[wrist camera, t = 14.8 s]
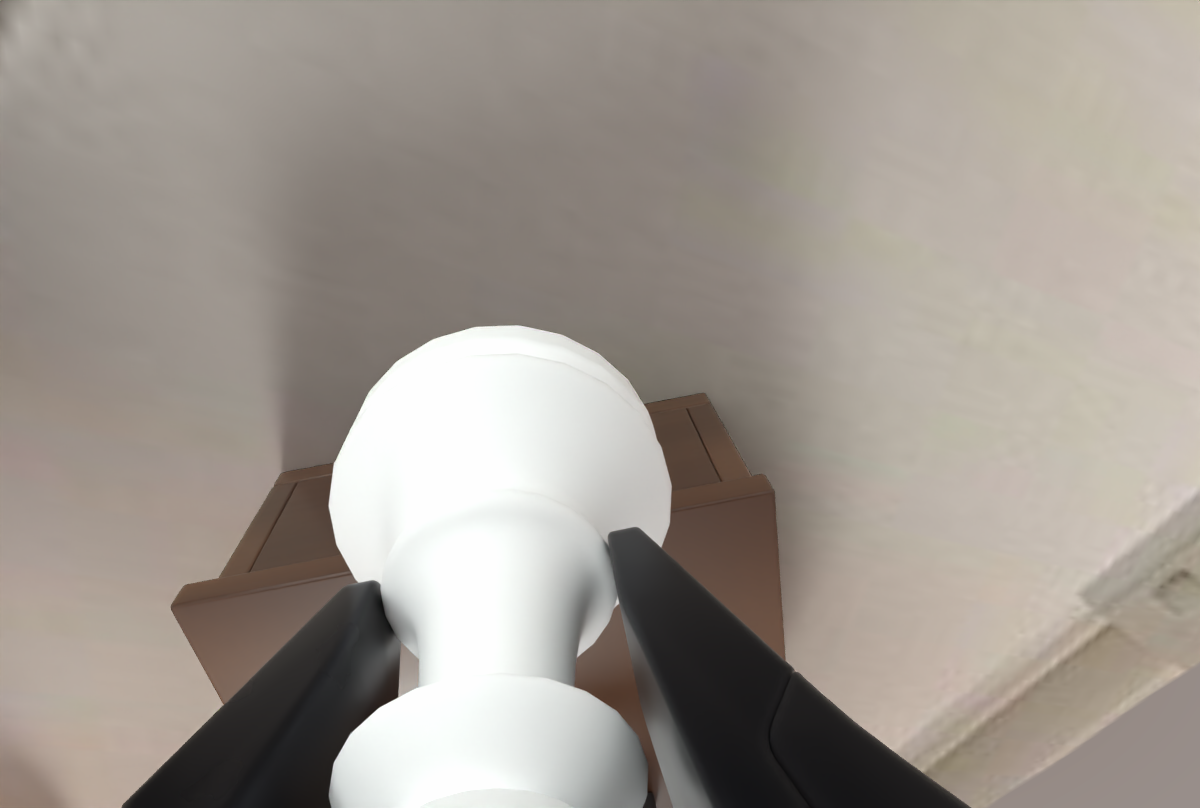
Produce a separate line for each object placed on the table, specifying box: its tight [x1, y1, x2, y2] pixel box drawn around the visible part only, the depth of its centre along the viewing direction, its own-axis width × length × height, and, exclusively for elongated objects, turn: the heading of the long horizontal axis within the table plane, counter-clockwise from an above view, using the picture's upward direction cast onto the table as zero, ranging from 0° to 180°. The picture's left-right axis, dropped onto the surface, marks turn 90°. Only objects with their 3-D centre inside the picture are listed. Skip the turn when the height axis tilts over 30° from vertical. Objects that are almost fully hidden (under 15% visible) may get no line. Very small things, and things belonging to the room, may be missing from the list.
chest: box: [219, 393, 751, 578], centre depth 23 cm, size 16×14×6 cm
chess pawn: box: [329, 325, 672, 808], centre depth 8 cm, size 5×5×9 cm
